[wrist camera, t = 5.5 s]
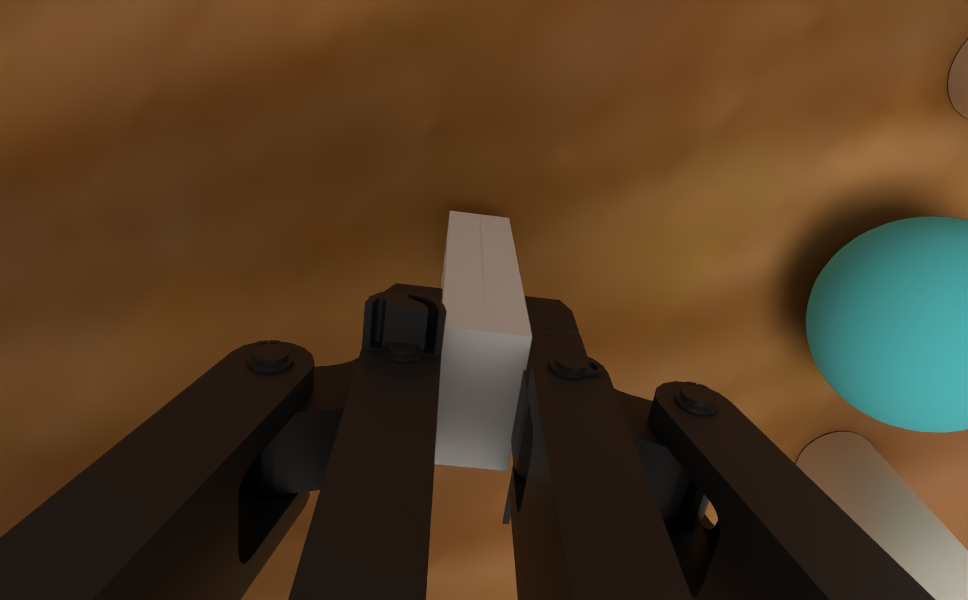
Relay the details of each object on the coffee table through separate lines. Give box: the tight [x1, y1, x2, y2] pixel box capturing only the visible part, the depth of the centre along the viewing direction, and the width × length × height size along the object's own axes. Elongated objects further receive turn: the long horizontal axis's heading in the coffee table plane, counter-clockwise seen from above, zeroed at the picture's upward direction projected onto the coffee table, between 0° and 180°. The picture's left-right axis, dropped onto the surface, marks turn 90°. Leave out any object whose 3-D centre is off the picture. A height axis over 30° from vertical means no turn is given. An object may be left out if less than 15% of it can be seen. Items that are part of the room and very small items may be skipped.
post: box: [796, 432, 968, 600], centre depth 19 cm, size 3×3×9 cm
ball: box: [806, 216, 968, 432], centre depth 17 cm, size 6×6×6 cm
